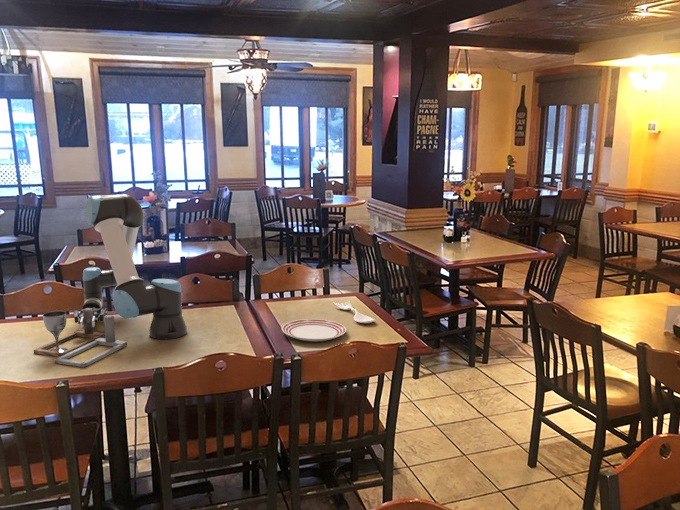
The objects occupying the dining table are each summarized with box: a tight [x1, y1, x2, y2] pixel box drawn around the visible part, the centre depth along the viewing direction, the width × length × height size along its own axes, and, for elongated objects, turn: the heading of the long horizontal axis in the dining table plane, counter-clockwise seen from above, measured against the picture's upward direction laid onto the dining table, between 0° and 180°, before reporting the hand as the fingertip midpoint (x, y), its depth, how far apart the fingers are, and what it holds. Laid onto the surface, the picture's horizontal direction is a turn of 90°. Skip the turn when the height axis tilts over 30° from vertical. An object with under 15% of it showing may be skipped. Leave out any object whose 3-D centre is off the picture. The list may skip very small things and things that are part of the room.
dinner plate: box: [281, 318, 347, 343], centre depth 247 cm, size 28×27×3 cm
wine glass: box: [42, 310, 68, 352], centre depth 223 cm, size 8×8×15 cm
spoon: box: [333, 300, 375, 324], centre depth 274 cm, size 9×32×4 cm, turn 23°
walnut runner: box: [33, 308, 105, 358], centre depth 230 cm, size 13×24×12 cm, turn 163°
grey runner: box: [53, 314, 128, 368], centre depth 221 cm, size 13×24×12 cm, turn 163°
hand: (87, 324), depth 234 cm, fingers closed on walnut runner, 4 cm apart
